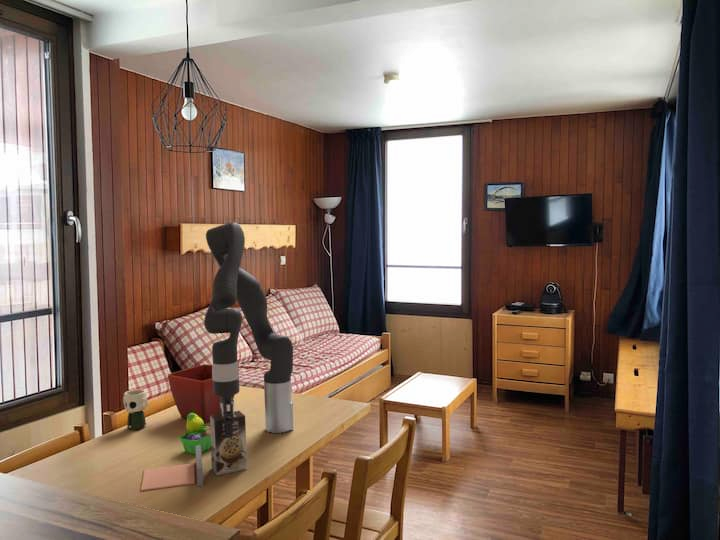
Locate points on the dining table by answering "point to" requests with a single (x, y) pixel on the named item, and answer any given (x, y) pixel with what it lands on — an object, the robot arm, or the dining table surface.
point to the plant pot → (195, 392)
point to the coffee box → (228, 444)
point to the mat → (168, 477)
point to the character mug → (135, 408)
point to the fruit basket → (196, 434)
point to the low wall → (199, 465)
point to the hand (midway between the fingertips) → (228, 432)
